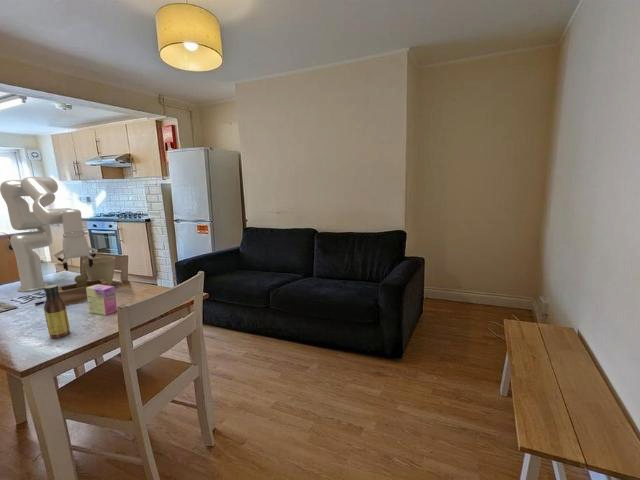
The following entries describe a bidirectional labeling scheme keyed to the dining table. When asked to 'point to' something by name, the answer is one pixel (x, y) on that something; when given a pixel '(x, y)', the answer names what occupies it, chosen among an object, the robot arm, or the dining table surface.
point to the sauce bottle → (55, 313)
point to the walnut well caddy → (77, 292)
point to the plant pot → (101, 269)
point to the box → (101, 299)
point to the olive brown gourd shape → (81, 281)
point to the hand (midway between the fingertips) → (79, 268)
